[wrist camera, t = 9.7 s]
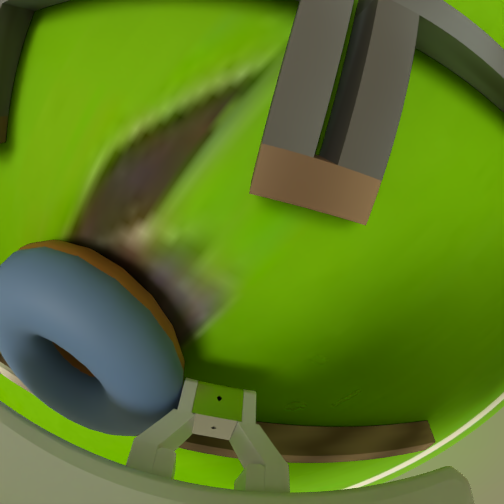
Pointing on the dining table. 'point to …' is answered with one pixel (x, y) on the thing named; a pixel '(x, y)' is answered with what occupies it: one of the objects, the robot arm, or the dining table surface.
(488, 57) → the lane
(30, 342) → the doughnut
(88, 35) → the dining table surface
